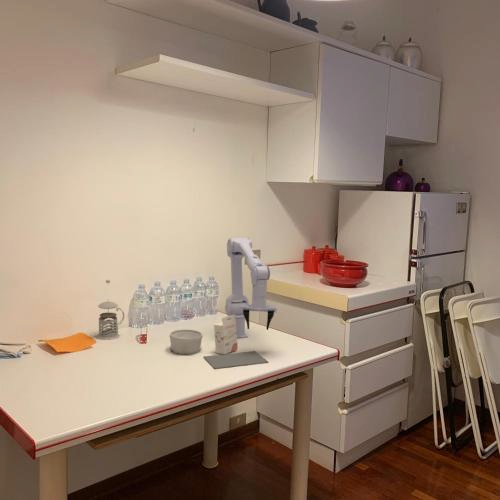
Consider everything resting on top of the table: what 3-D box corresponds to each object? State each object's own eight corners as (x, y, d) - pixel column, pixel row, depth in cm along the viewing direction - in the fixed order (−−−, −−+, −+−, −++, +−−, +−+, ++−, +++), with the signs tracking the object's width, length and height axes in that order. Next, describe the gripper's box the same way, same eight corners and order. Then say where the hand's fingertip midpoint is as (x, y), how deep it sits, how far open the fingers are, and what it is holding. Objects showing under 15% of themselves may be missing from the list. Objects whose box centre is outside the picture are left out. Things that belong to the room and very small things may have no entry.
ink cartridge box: (228, 347, 209) (226, 312, 208) (237, 349, 206) (236, 313, 205) (214, 353, 203) (213, 316, 202) (224, 354, 200) (222, 317, 199)
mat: (203, 357, 197) (203, 356, 197) (254, 351, 206) (254, 350, 206) (214, 369, 185) (214, 368, 185) (268, 362, 194) (268, 361, 194)
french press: (94, 334, 221) (94, 278, 218) (121, 331, 226) (121, 276, 223) (98, 340, 212) (97, 282, 209) (126, 338, 217) (126, 281, 214)
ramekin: (204, 346, 211) (205, 330, 210) (198, 356, 198) (199, 339, 197) (173, 344, 212) (174, 328, 211) (165, 354, 199) (165, 337, 198)
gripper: (240, 297, 198) (239, 330, 200) (277, 298, 198) (276, 332, 199) (241, 293, 205) (240, 325, 207) (277, 294, 205) (275, 327, 206)
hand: (257, 328), depth 204 cm, fingers open, 7 cm apart
